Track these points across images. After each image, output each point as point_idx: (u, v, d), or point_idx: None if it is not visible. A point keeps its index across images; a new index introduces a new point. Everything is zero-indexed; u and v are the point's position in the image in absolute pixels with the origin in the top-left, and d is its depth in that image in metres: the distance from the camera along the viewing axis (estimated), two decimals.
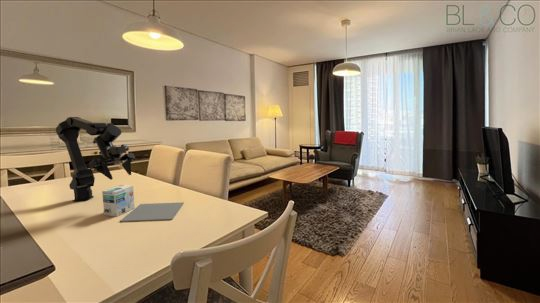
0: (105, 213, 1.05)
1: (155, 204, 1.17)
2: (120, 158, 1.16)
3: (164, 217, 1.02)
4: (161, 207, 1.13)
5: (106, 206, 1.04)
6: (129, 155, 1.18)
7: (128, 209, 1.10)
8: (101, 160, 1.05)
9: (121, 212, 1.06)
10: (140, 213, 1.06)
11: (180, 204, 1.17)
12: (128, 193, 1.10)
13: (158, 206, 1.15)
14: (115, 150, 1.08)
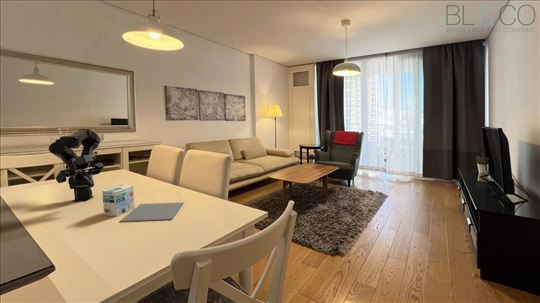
0: (105, 213, 1.05)
1: (155, 204, 1.17)
2: (89, 169, 1.15)
3: (164, 217, 1.02)
4: (161, 207, 1.13)
5: (106, 206, 1.04)
6: (98, 164, 1.17)
7: (128, 209, 1.10)
8: (68, 171, 1.04)
9: (121, 212, 1.06)
10: (140, 213, 1.06)
11: (180, 204, 1.17)
12: (128, 193, 1.10)
13: (158, 206, 1.15)
14: (81, 159, 1.08)
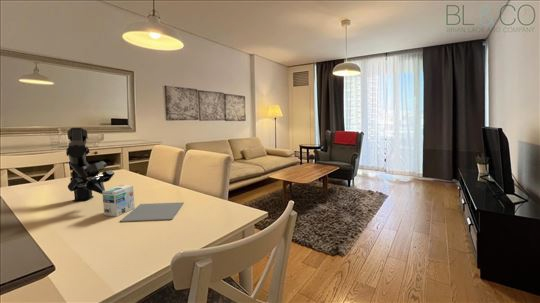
0: (105, 213, 1.05)
1: (155, 204, 1.17)
2: (99, 176, 1.14)
3: (164, 217, 1.02)
4: (161, 207, 1.13)
5: (106, 206, 1.04)
6: (108, 172, 1.17)
7: (128, 209, 1.10)
8: (80, 179, 1.03)
9: (121, 212, 1.06)
10: (140, 213, 1.06)
11: (180, 204, 1.17)
12: (128, 193, 1.10)
13: (158, 206, 1.15)
14: (93, 167, 1.07)
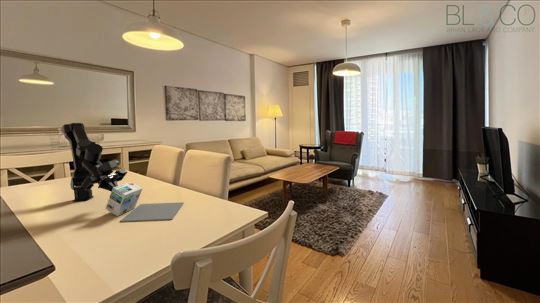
0: (107, 208, 1.04)
1: (155, 204, 1.17)
2: (112, 175, 1.12)
3: (164, 217, 1.02)
4: (161, 207, 1.13)
5: (111, 202, 1.04)
6: (121, 171, 1.14)
7: (129, 209, 1.10)
8: (94, 177, 1.01)
9: (122, 212, 1.06)
10: (140, 213, 1.06)
11: (180, 204, 1.17)
12: (135, 195, 1.09)
13: (158, 206, 1.15)
14: (106, 165, 1.05)
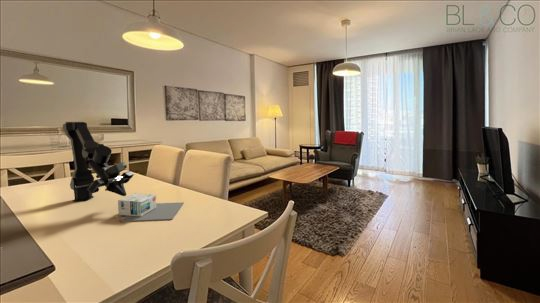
0: (119, 202, 1.03)
1: None
2: (119, 178, 1.12)
3: (164, 217, 1.02)
4: (161, 207, 1.13)
5: (126, 204, 1.03)
6: (128, 173, 1.14)
7: None
8: (102, 181, 1.01)
9: None
10: None
11: (180, 204, 1.17)
12: None
13: (158, 206, 1.15)
14: (114, 168, 1.05)
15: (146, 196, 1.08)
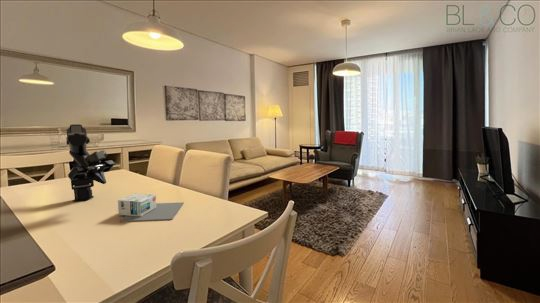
0: (119, 202, 1.03)
1: None
2: (100, 166, 1.14)
3: (164, 217, 1.02)
4: (161, 207, 1.13)
5: (126, 204, 1.03)
6: (108, 162, 1.16)
7: None
8: (81, 168, 1.03)
9: None
10: None
11: (180, 204, 1.17)
12: None
13: (158, 206, 1.15)
14: (93, 156, 1.06)
15: (146, 196, 1.08)
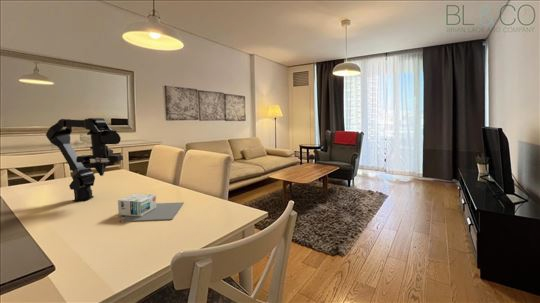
0: (119, 202, 1.03)
1: None
2: None
3: (164, 217, 1.02)
4: (161, 207, 1.13)
5: (126, 204, 1.03)
6: None
7: None
8: None
9: None
10: None
11: (180, 204, 1.17)
12: None
13: (158, 206, 1.15)
14: (112, 153, 1.28)
15: (146, 196, 1.08)
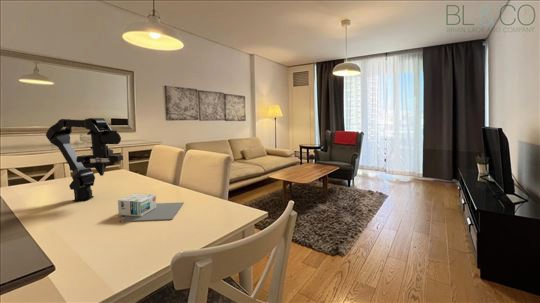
0: (119, 202, 1.03)
1: None
2: None
3: (164, 217, 1.02)
4: (161, 207, 1.13)
5: (126, 204, 1.03)
6: None
7: None
8: None
9: None
10: None
11: (180, 204, 1.17)
12: None
13: (158, 206, 1.15)
14: (112, 153, 1.28)
15: (146, 196, 1.08)
